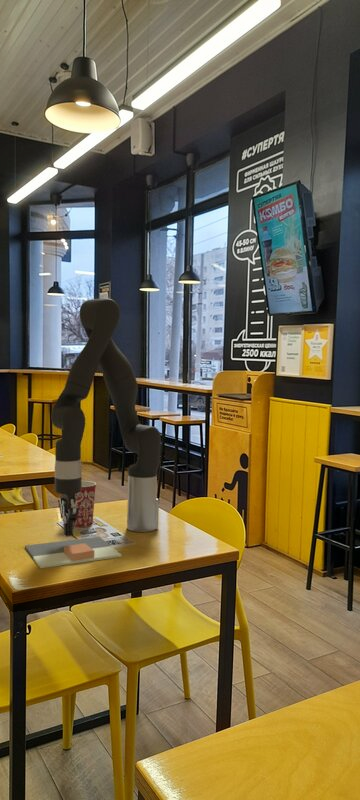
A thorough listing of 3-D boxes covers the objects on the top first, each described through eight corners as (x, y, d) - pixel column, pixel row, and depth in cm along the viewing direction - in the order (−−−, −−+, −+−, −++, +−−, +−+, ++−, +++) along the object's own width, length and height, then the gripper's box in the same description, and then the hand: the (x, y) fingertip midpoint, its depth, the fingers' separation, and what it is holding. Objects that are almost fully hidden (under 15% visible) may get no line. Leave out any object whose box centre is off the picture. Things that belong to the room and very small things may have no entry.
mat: (99, 538, 168) (99, 536, 168) (121, 556, 152) (121, 554, 152) (24, 547, 158) (24, 545, 158) (40, 568, 142) (40, 566, 142)
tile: (84, 543, 155) (94, 550, 149) (84, 549, 156) (94, 557, 150) (63, 546, 152) (72, 553, 146) (63, 552, 153) (72, 560, 147)
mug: (99, 526, 182) (100, 484, 181) (72, 529, 177) (73, 487, 177) (86, 516, 193) (87, 477, 192) (60, 519, 188) (61, 479, 188)
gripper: (88, 478, 155) (88, 540, 156) (74, 470, 166) (74, 527, 168) (61, 481, 151) (61, 544, 152) (49, 472, 163) (49, 530, 164)
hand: (68, 535), depth 160 cm, fingers closed
